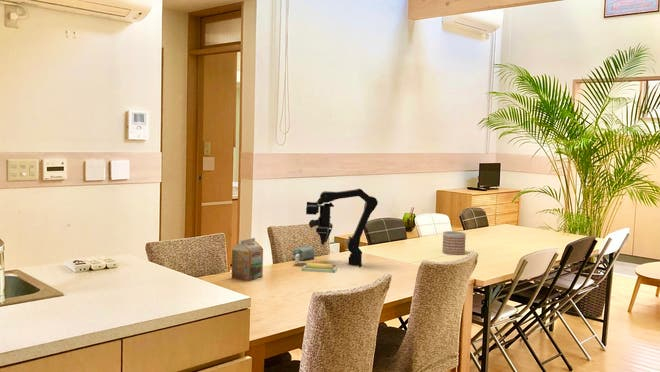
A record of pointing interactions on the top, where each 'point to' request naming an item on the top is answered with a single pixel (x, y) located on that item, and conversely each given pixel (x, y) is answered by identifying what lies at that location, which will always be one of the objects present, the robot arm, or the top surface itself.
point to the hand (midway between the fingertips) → (324, 243)
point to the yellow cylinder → (319, 266)
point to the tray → (319, 269)
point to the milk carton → (247, 260)
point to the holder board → (304, 264)
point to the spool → (304, 252)
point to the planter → (454, 243)
